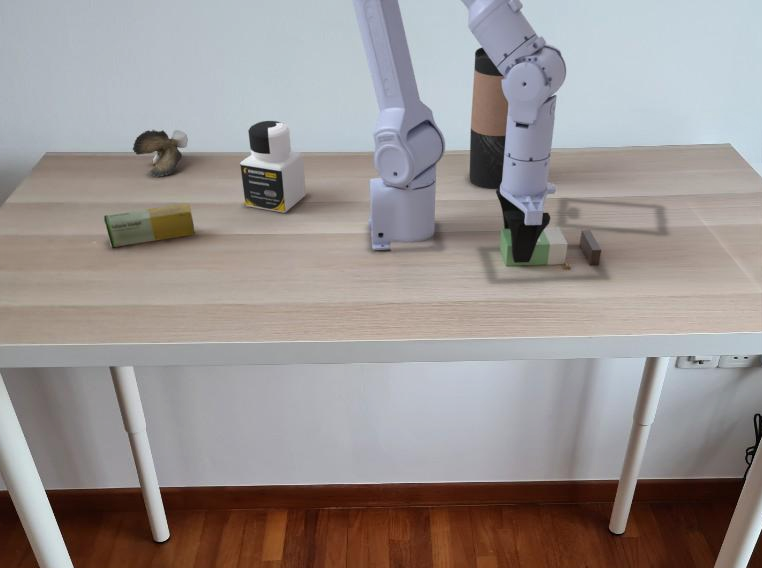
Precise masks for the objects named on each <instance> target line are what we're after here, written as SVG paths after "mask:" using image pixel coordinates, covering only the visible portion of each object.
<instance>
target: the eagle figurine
mask: <svg viewBox="0 0 762 568" xmlns="http://www.w3.org/2000/svg"><path fill="white" fill-rule="evenodd" d="M188 142H189V138H188V134H187V133H186V132H184V131H183V130H180V129H175V130H174V131H173V132H172V135H171V137H169V135H168V134H167V133H166V131H164V130H160V131H158V130H155V129H152V130H145V131H143V132H142V133H141V134H139V135H138V136H137V137H136V139H135V140H134V143H133V147H132V151H133V152H134V153H135V155H137V156H138V155H139V156H140V155H145V154H146V155H147V154H153V153H155V152H156V153H155V154H154V157H153V159H152V165H154V166H153V167H152V168H151V170H149V174H150V175H151V176H153V177H156V178H159V177H164V176H165V175H166V176H168V175H171V174H173V173H174V172H175V171H176V169H178V165H179V163H180V161H181V160H182V158H183V155H182V152H181V151H180V149H185V148H187V146H188Z"/></svg>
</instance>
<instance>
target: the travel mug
mask: <svg viewBox="0 0 762 568" xmlns="http://www.w3.org/2000/svg"><path fill="white" fill-rule="evenodd" d="M473 69H474V70H473V71H474V72H473V84H472V85H473V86H472V100H471V117H470V136H469V137H470V138H469V139H470V141H469V142H470V143H469V150H470V151H469V181H470V183H471V184H473V185H475V186H476V187H479V188H484V189H500V185H501V182H502V177H503V164H504V152H505V140H506V127H507V116H508V106H509V103H508V101H507V99H506V97H505V95H504V93H503V90H502V79H504V78H505V77H504V76H503V75H502V74H501V73H500V72H499V70H498V69H497V67H496V66H495V65H494V63H493V62H492V60H491V59H490V58H489V56H488V55H487V53H486V52H485V51H484V49H483V48H482V47H479V48H477V49H476V50H475V52H474V68H473Z"/></svg>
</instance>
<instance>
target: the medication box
mask: <svg viewBox="0 0 762 568" xmlns="http://www.w3.org/2000/svg"><path fill="white" fill-rule="evenodd" d="M103 221H104V225H105V230H106V234H107V238H108V241H109V245H110V247H111V249H113V248H114V247H121V246H127V245H128V246H129V245H136V244H140V243H147V242H154V241H161V240H167V239H174V238H179V237H186V236H192V235H196V234H197V232H196V230H195V224H194V219H193V213H192V208H191V206H190V204H189V203H182V204H181V203H180V204H176V205H175V204H174V205H169V206H161V207H153V208H147V209H140V210H135V211H128V212H122V213H114V214H107V215H104V216H103Z"/></svg>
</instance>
